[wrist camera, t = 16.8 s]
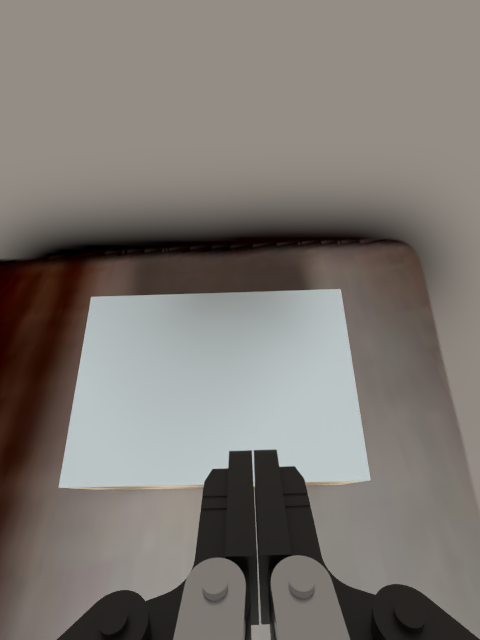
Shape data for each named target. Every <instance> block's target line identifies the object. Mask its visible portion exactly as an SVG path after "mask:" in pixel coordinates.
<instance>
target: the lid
mask: <svg viewBox="0 0 480 640" xmlns="http://www.w3.org/2000/svg"><path fill="white" fill-rule="evenodd" d="M273 449H276V450H277V455H278V462H279V467H286V466H295V467H296V469H297V470H298V471H299V472H300V474H301V475H302V476H303V478H304V480H305V482H341V481H370V473H369V467H368V461H367V454H366V448H365V441H364V435H363V429H362V422H361V416H360V409H359V403H358V397H357V390H356V384H355V378H354V371H353V365H352V358H351V352H350V346H349V339H348V333H347V326H346V320H345V314H344V307H343V301H342V294H341V289H328V290H296V291H264V292H232V293H200V294H168V295H137V296H105V297H91V301H90V307H89V313H88V319H87V325H86V331H85V336H84V342H83V348H82V354H81V360H80V366H79V372H78V377H77V383H76V389H75V395H74V401H73V407H72V412H71V418H70V424H69V430H68V436H67V442H66V447H65V453H64V459H63V465H62V471H61V477H60V482H59V488H82V487H125V486H169V485H204V481H205V480H206V478H207V477H208V475H209V474H210V472H211V471H212V469H225V468H228V465H229V451H244V450H252V465H253V484H255V475H254V450H273Z"/></svg>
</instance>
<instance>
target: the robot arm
mask: <svg viewBox="0 0 480 640" xmlns="http://www.w3.org/2000/svg"><path fill="white" fill-rule="evenodd" d="M254 475H255V504H256V524H257V544H258V564H259V584H260V604H261V623H262V624H270V633H271V640H480V639H478V638H477V637H476V636H475V635H474V634H472V633H471V632H470V631H469V630H467V629H466V628H465V627H464V626H462V625H461V624H460V623H459V622H457V621H456V620H455V619H454V618H452V617H451V616H450V615H449V614H447V613H446V612H445V611H444V610H442V609H441V608H440V607H439V606H437V605H436V604H435V603H434V602H433V601H431V600H430V599H429V598H428V597H426V596H425V595H424V594H422V593H421V592H419V591H417V590H416V589H414V588H411V587H409V586H405V585H400V584H392V585H388V586H385V587H383V588H382V589H380V590H379V591H378V593H377V594H376V595H374V594H371V593H367V592H364V591H361V590H358V589H355V588H352V587H349V586H347V585H345V584H343V583H342V582H340V581H339V580H338V579H336V578H335V577H334V576H333V575H332V574H331V573H330V571H329V570H328V569H327V567H326V566H325V564H324V562H323V559H322V556H321V552H320V547H319V543H318V538H317V534H316V529H315V525H314V520H313V516H312V511H311V508H310V502H309V498H308V494H307V489H306V484H305V480H304V478H303V476H302V475H301V474H300V472H299V471H298V470H297V469H296V467H295V466H286V467H279V462H278V455H277V450H276V449H273V450H254ZM251 625H259V614H258V581H257V550H256V529H255V508H254V486H253V465H252V450H244V451H229V465H228V468H225V469H212V471H211V472H210V474H209V475H208V477H207V478H206V480H205V481H204V488H203V499H202V505H201V513H200V521H199V530H198V538H197V546H196V555H195V561H194V565H193V568H192V570H191V572H190V574H189V575H188V577H187V578H186V580H185V581H184V582H183V583H182V584H181V585H179V586H178V587H177V588H176V589H174V590H172V591H171V592H168V593H166V594H164V595H161V596H158V597H156V598H153V599H150V600H148V601H145V600H144V599H143V598H142V596H140V595H139V594H138V593H135V592H133V591H129V590H121V591H116V592H113V593H110V594H108V595H106V596H105V597H103V598H102V599H100V600H99V601H98V602H97V603H95V604H94V605H93V606H92V607H91V608H90V609H89V610H88V611H87V612H86V613H85V614H84V615H83V616H82V617H81V618H79V619H78V620H77V621H76V622H75V623H74V624H73V625H72V626H71V627H70V628H69V629H68V630H67V631H66V632H65V633H64V634H62V635H61V636H60V637H59V638H58V639H57V640H251Z"/></svg>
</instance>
